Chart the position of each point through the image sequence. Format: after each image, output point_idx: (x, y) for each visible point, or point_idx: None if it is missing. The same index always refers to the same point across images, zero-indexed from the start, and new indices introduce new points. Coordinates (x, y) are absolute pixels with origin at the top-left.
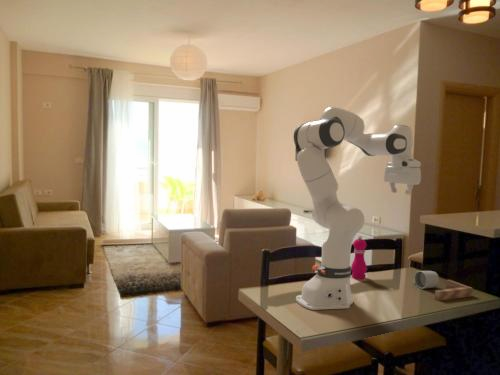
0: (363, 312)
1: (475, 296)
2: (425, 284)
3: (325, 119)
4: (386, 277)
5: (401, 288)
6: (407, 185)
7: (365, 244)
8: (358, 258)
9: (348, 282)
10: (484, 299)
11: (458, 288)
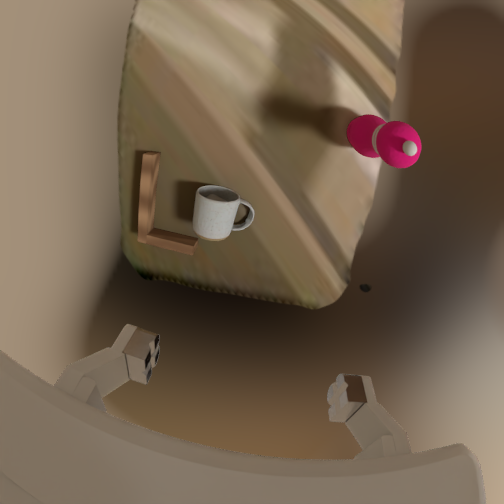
0: None
1: None
2: (209, 195)
3: None
4: (322, 193)
5: (243, 147)
6: (88, 391)
7: (379, 146)
8: (375, 126)
9: None
10: (127, 235)
11: (144, 213)
